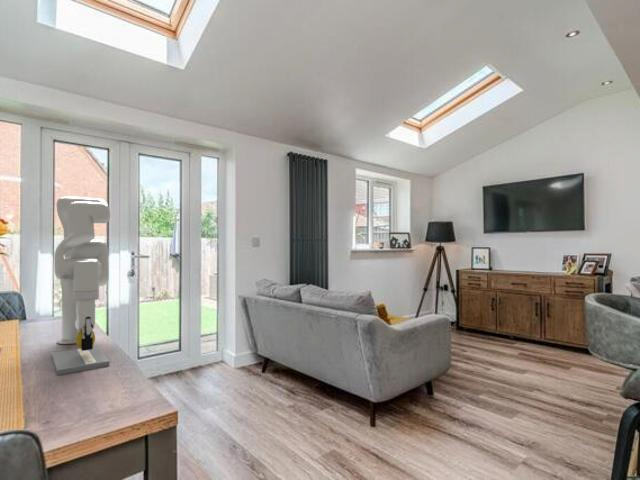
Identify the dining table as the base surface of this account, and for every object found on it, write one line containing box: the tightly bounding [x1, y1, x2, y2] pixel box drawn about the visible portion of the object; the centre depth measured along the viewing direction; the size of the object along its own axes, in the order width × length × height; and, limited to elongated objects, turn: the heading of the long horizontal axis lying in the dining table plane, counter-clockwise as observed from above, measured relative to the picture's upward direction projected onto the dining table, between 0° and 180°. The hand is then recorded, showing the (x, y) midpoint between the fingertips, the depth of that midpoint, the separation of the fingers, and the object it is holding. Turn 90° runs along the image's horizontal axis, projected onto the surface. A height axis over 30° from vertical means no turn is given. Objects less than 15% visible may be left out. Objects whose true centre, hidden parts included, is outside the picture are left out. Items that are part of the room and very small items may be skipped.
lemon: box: [75, 328, 96, 351], centre depth 127 cm, size 6×6×8 cm
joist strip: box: [76, 348, 96, 364], centre depth 126 cm, size 22×3×1 cm, turn 40°
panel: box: [51, 345, 110, 376], centre depth 125 cm, size 24×14×2 cm, turn 40°
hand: (85, 347), depth 127 cm, fingers closed on lemon, 5 cm apart
